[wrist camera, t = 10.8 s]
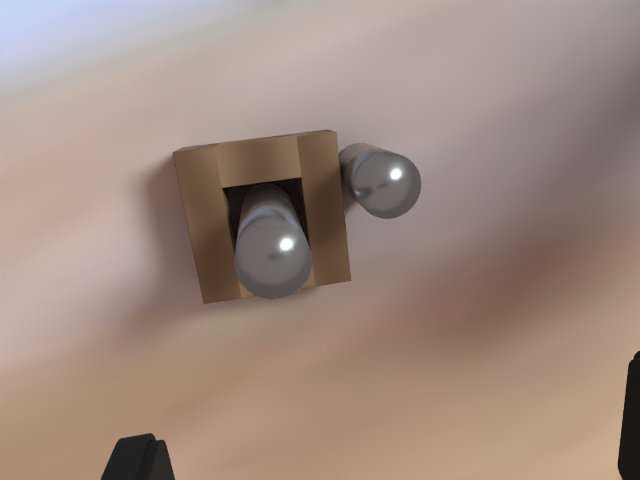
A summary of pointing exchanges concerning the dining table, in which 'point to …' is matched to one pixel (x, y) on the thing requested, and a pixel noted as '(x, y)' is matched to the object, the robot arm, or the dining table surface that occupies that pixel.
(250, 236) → the long pin
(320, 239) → the socket block
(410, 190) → the medium pin
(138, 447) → the robot arm
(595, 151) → the dining table surface
